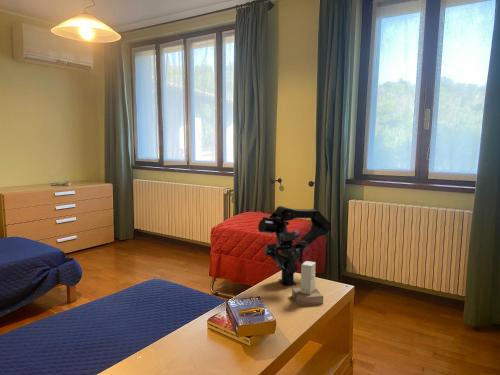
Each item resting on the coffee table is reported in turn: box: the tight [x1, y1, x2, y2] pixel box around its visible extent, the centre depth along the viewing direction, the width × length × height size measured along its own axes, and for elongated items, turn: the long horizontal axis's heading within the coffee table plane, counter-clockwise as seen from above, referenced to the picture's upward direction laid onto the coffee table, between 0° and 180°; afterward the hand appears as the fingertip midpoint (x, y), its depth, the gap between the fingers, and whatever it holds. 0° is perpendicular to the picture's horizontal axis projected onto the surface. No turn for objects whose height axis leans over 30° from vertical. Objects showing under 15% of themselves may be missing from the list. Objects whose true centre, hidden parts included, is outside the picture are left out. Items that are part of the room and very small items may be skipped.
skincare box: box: [300, 260, 316, 294], centre depth 158 cm, size 6×4×12 cm
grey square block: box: [291, 286, 324, 307], centre depth 159 cm, size 10×10×4 cm
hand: (291, 265), depth 160 cm, fingers open, 9 cm apart
